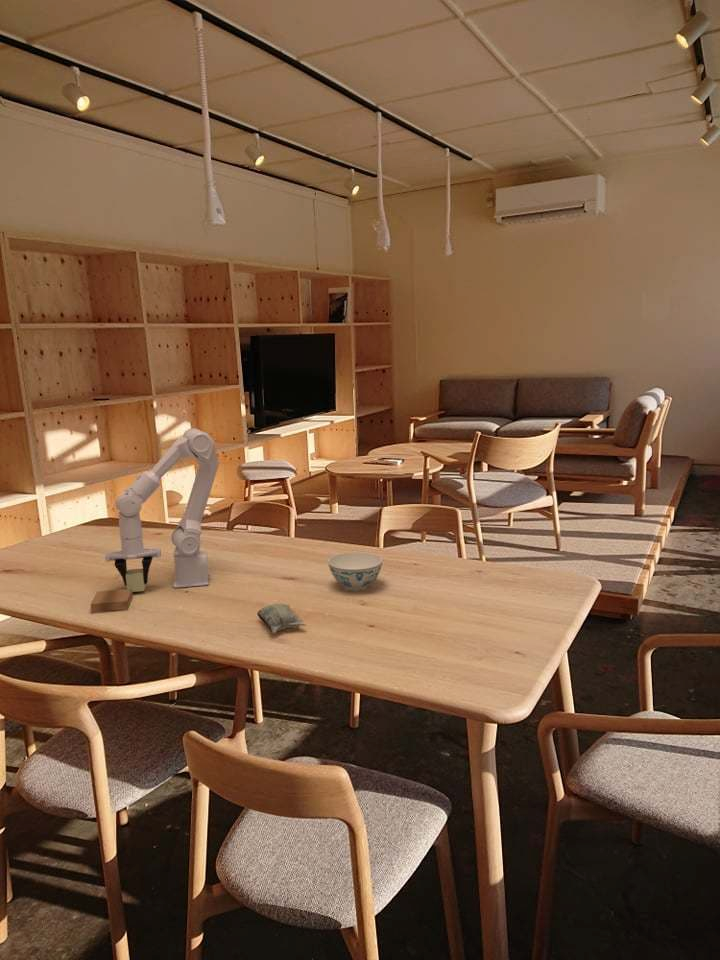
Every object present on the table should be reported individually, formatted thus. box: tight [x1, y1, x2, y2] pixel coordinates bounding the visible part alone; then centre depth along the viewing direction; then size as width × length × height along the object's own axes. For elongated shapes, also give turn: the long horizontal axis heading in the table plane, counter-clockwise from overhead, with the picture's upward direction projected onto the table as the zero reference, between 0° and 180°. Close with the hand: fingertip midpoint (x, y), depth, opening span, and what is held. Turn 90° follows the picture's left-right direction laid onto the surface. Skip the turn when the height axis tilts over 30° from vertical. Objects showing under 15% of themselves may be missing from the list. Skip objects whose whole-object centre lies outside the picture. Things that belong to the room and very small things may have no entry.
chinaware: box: [327, 551, 383, 592], centre depth 193 cm, size 15×15×8 cm
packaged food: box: [256, 602, 307, 634], centre depth 168 cm, size 9×12×5 cm
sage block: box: [126, 568, 147, 593], centre depth 193 cm, size 4×4×5 cm
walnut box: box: [90, 588, 134, 615], centre depth 184 cm, size 9×9×3 cm
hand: (136, 583), depth 193 cm, fingers closed on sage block, 4 cm apart
